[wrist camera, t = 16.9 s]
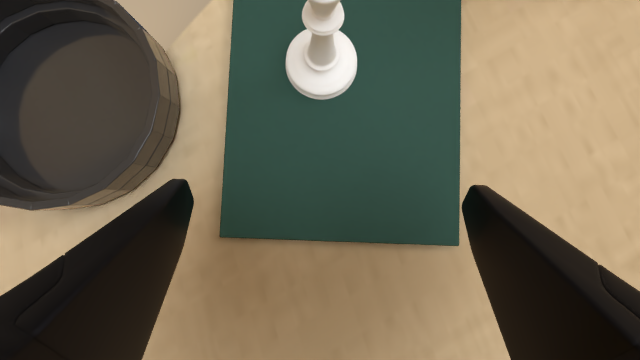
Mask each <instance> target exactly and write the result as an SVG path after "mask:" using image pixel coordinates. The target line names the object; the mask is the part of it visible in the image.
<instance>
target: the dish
mask: <svg viewBox="0 0 640 360" xmlns="http://www.w3.org/2000/svg"><path fill="white" fill-rule="evenodd" d="M179 107H180V106H179V96H178V87H177V78H176V75H175V73H174V70H173V68H172V66H171V64H170V62H169V60H168V58H167V55H166V53H165V51H164V49H163V48H162V47H161V46H160V45H159V44H158V43H157V41H156V40H155V39H154V38H153V37H152V36H151V35H150V34H149V33H148V32H147V31H146V30H145V29H144V28H143V27H142V26H141V25H140V24H139V23H138V22H137V21H136V20H135V19H134V18H133V17H132V16H131V15H130V14H129V13H128V12H127V11H126V10H125V9H124V8H123V7H122V6H121V5H120V4H119V3H118V2H116V1H115V0H0V205H3V206H9V207H14V208H20V209H25V210H33V211H34V210H57V209H73V208H80V207H88V206H95V205H101V204H104V203H106V202H108V201H110V200H112V199H115V198H117V197H119V196H121V195H123V194H125V193H127V192H129V191H131V190H133V189H134V188H135V187H136V186H137V185H139V184H140V183H141V182H142V181H143V180H144V179H145V178H146V177H147V176H148V175H149V174H151V173H152V172H153V171H154V170H155V169H156V167H157V166H158V164H159V163H160V161H161V159H162V157H163V156H164V154H165V152H166V150H167V149H168V147H169V145H170V144H171V142H172V139H173V138H174V134H175V129H176V124H177V120H178V115H179V110H180V108H179Z"/></svg>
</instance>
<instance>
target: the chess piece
mask: <svg viewBox="0 0 640 360" xmlns="http://www.w3.org/2000/svg"><path fill="white" fill-rule="evenodd" d="M302 20H303V23H304V25H305V27H306V28H307V29H306V30H304V31H302V32H301V33H299V34H298V35H297V36H296V37H295V38H294V39H293V40H292V42H291V43H290V45H289V47H288V50H287V54H286V63H285V65H286V73H287V76H288V78H289V80H290V82H291V84H292V85H293V86H294V88H295V89H296V90H297V91H299V92H300V93H301V94H303V95H305V96H307V97H309V98H313V99H320V100H324V99H330V98H334V97H336V96H338V95H340V94H342V93H343V92H344V91H346V90H347V89H348V88H349V86H350V85H351V84H352V82H353V80H354V78H355V75H356V72H357V55H356V51H355V48H354V46H353V44H352V42H351V41H350V39H349V38H348V37H347V36H346V35H345V34H343V33H342V32H341V31H339V29H340V27H341V26H342V24H343V21H344V10H343V7H342V5H341V3H340V0H307V2H306V3H305V5H304V7H303V10H302Z"/></svg>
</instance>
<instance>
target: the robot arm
mask: <svg viewBox="0 0 640 360" xmlns="http://www.w3.org/2000/svg"><path fill="white" fill-rule="evenodd" d="M193 204H194V199H193V196H192V193H191V190H190V187H189V184H188V182H187V181H186V180H185V179H172V180H170V181H168V182H167V183H166V184H164V185H163V186H161V187H160V188H158V189H157V190H156V191H154V192H153V193H151V194H150V195H148V196H147V197H145V198H144V199H143V200H141V201H140V202H138V203H137V204H135V205H134V206H133V207H131V208H130V209H128V210H127V211H125V212H124V213H122V214H121V215H120V216H118V217H117V218H115V219H114V220H112V221H111V222H110V223H108V224H107V225H105V226H104V227H102V228H101V229H99V230H98V231H97V232H95V233H94V234H92V235H91V236H89V237H88V238H87V239H85V240H84V241H82V242H81V243H79V244H78V245H76V246H75V247H74V248H72V249H71V250H69V251H68V252H66V253H65V256H64V255H62V256H61V257H59V258H58V259H56V260H55V261H53V262H52V263H50V264H49V265H48V266H46V267H45V268H43V269H42V270H40V271H39V272H37V273H36V274H34V275H33V276H31V277H30V278H28V279H27V280H25V281H24V282H22V283H20V284H19V285H17V286H16V287H14V288H13V289H11V290H9V291H8V292H6V293H5V294H3V295H1V296H0V360H142V358H143V355H144V352H145V349H146V347H147V344H148V341H149V339H150V336H151V333H152V330H153V328H154V325H155V322H156V320H157V317H158V314H159V312H160V309H161V306H162V303H163V301H164V298H165V295H166V293H167V290H168V287H169V285H170V282H171V279H172V276H173V274H174V271H175V268H176V266H177V263H178V260H179V258H180V255H181V252H182V249H183V246H184V242H185V238H186V234H187V230H188V226H189V221H190V217H191V213H192V209H193ZM462 212H463V216H464V221H465V225H466V229H467V233H468V238H469V242H470V246H471V250H472V253H473V256H474V259H475V262H476V265H477V267H478V270H479V273H480V276H481V278H482V281H483V284H484V287H485V289H486V292H487V295H488V298H489V300H490V303H491V306H492V309H493V311H494V314H495V317H496V320H497V322H498V325H499V328H500V331H501V334H502V336H503V339H504V342H505V345H506V347H507V350H508V353H509V356H510V358H511V360H640V291H638V290H637V289H635V288H634V287H632V286H631V285H629V284H628V283H626V282H625V281H623V280H622V279H620V278H619V277H617V276H616V275H614V274H613V273H612V272H610V271H609V270H607V269H606V268H604V267H603V266H602V265H598V263H597V262H596V261H594V260H593V259H591V258H590V257H588V256H587V255H586V254H584V253H583V252H581V251H580V250H578V249H577V248H575V247H574V246H573V245H571V244H570V243H568V242H567V241H565V240H564V239H562V238H561V237H560V236H558V235H557V234H555V233H554V232H552V231H551V230H549V229H548V228H547V227H545V226H544V225H542V224H541V223H539V222H538V221H536V220H535V219H534V218H532V217H531V216H529V215H528V214H526V213H525V212H524V211H522V210H521V209H519V208H518V207H516V206H515V205H513V204H512V203H511V202H509V201H508V200H506V199H505V198H503V197H502V196H500V195H499V194H498V193H496V192H495V191H493V190H492V189H490V188H489V187H487V186H485V185H473V186H471V187H470V188H469V190H468V193H467V195H466V197H465V199H464V201H463V203H462Z"/></svg>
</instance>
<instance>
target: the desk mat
mask: <svg viewBox="0 0 640 360" xmlns="http://www.w3.org/2000/svg"><path fill="white" fill-rule="evenodd" d="M306 2H307V0H234V2H233V19H232V36H231V53H230V70H229V87H228V104H227V121H226V137H225V154H224V171H223V188H222V205H221V222H220V237H230V238H257V239H284V240H311V241H338V242H366V243H393V244H420V245H447V246H459V190H460V65H461V0H340V3H341V5H342V7H343V10H344V21H343V24H342V26H341V27H340V29H339V31H341V32H342V33H343V34H345V35H346V36H347V37H348V38H349V39H350V41H351V42H352V44H353V46H354V48H355V51H356V55H357V72H356V75H355V78H354V80H353V82H352V84H351V85H350V86H349V88H348V89H347V90H346V91H344V92H343V93H342V94H340V95H338V96H336V97H334V98H330V99H324V100H320V99H313V98H309V97H307V96H305V95H303V94H301V93H300V92H299V91H297V90H296V89H295V88H294V86H293V85H292V84H291V82H290V80H289V78H288V76H287V73H286V65H285V63H286V54H287V50H288V47H289V45H290V43H291V42H292V40H293V39H294V38H295V37H296V36H297V35H298V34H299V33H301V32H302V31H304V30H306V29H307V28H306V27H305V25H304V23H303V20H302V10H303V7H304V5H305V3H306Z"/></svg>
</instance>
